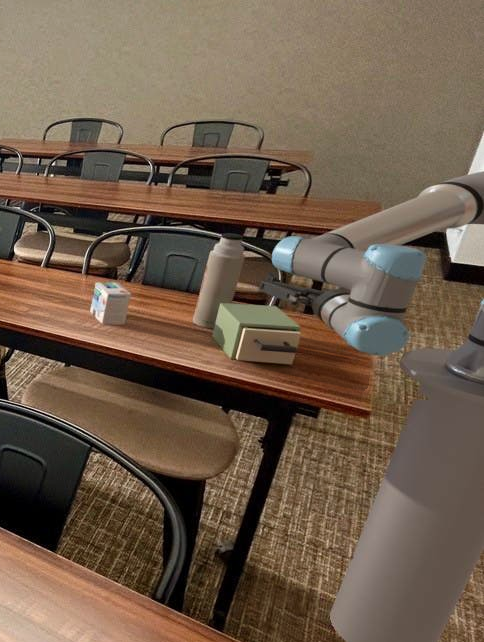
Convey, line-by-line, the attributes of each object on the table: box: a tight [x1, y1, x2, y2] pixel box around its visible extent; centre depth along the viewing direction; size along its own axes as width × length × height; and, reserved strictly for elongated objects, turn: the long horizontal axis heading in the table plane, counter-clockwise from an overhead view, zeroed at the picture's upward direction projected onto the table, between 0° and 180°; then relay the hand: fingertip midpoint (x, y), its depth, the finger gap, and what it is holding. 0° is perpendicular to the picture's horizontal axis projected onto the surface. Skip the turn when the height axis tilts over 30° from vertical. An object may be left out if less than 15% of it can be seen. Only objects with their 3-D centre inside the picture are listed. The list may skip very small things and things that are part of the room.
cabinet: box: [211, 303, 302, 360], centre depth 156 cm, size 15×13×11 cm
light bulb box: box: [89, 281, 132, 326], centre depth 181 cm, size 11×7×11 cm, turn 169°
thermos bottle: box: [192, 232, 246, 330], centre depth 169 cm, size 8×8×28 cm
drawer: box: [235, 326, 302, 365], centre depth 152 cm, size 18×11×9 cm, turn 159°
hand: (304, 281), depth 134 cm, fingers open, 13 cm apart
